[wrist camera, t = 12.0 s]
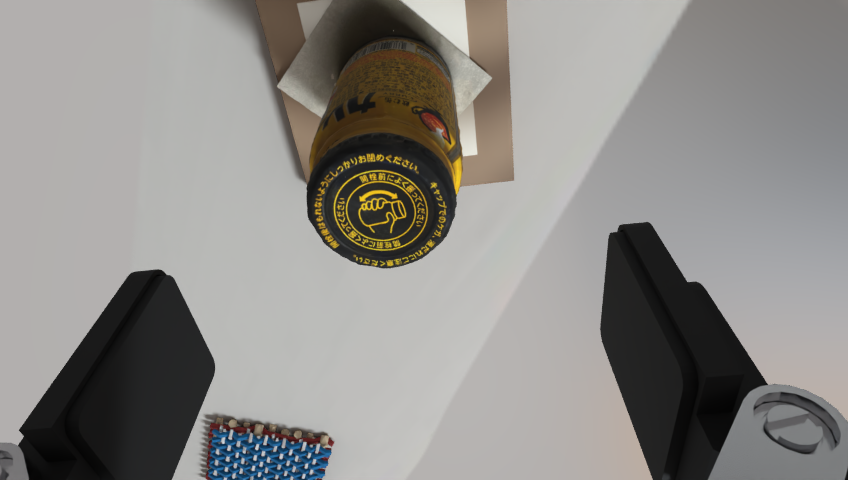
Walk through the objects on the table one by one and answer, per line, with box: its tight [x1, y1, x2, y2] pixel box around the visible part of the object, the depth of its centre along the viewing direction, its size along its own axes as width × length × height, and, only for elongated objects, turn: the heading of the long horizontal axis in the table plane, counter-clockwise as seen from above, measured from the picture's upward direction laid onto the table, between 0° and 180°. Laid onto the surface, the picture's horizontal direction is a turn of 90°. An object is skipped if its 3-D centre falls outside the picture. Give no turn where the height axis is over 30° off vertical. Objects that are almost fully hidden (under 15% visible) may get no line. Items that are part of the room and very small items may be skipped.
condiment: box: [277, 0, 492, 268], centre depth 23 cm, size 7×8×12 cm
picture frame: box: [255, 0, 514, 187], centre depth 29 cm, size 13×12×2 cm
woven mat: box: [206, 417, 334, 480], centre depth 49 cm, size 10×11×2 cm
